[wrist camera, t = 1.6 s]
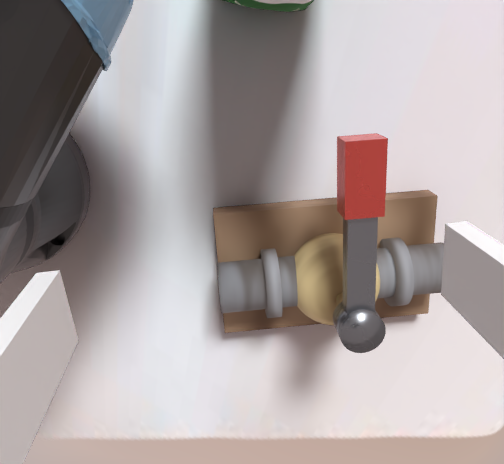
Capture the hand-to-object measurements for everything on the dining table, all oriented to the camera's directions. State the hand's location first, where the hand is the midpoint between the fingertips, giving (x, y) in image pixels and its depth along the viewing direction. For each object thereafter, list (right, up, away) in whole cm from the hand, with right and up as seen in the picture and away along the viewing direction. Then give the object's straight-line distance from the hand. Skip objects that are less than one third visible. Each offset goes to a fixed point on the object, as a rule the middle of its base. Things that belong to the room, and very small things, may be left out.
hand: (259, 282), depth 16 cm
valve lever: (+7, +1, +17) cm, 18 cm away
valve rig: (+7, -1, +29) cm, 30 cm away
